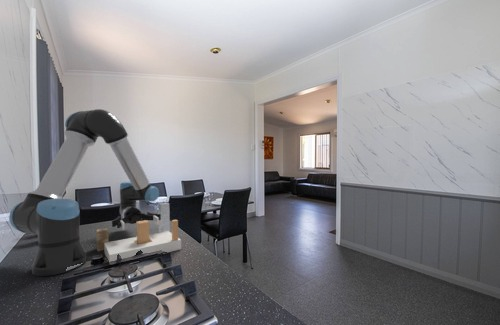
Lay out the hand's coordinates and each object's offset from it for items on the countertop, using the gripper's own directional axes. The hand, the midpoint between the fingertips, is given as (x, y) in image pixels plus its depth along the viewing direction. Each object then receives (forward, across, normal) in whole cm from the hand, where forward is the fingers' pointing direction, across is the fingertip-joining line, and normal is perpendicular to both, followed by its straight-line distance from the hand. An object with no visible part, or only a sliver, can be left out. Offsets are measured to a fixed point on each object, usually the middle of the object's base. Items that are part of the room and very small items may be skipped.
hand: (141, 223), depth 104 cm
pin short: (-9, +14, -10) cm, 19 cm away
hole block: (+4, 0, -10) cm, 11 cm away
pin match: (+4, 0, -10) cm, 11 cm away
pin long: (-10, -12, -10) cm, 19 cm away
